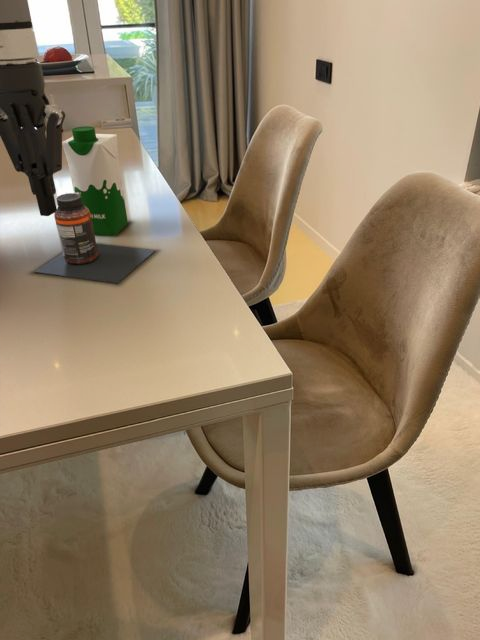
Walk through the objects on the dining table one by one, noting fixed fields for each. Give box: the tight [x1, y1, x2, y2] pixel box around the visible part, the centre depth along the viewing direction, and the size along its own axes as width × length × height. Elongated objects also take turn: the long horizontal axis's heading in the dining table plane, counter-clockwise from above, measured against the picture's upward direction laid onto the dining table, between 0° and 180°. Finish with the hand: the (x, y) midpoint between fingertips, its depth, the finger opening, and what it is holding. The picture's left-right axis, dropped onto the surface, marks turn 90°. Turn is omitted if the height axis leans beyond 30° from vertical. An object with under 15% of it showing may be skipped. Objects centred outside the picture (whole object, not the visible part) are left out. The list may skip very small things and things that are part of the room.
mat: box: [34, 243, 156, 285], centre depth 99 cm, size 16×14×1 cm
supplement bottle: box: [53, 192, 98, 264], centre depth 97 cm, size 6×6×11 cm
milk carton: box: [62, 125, 129, 237], centre depth 108 cm, size 9×9×20 cm
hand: (48, 213), depth 97 cm, fingers closed
